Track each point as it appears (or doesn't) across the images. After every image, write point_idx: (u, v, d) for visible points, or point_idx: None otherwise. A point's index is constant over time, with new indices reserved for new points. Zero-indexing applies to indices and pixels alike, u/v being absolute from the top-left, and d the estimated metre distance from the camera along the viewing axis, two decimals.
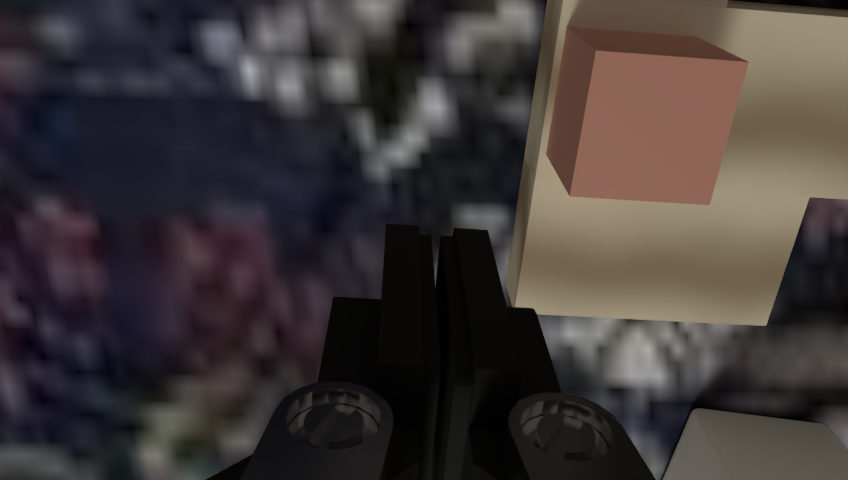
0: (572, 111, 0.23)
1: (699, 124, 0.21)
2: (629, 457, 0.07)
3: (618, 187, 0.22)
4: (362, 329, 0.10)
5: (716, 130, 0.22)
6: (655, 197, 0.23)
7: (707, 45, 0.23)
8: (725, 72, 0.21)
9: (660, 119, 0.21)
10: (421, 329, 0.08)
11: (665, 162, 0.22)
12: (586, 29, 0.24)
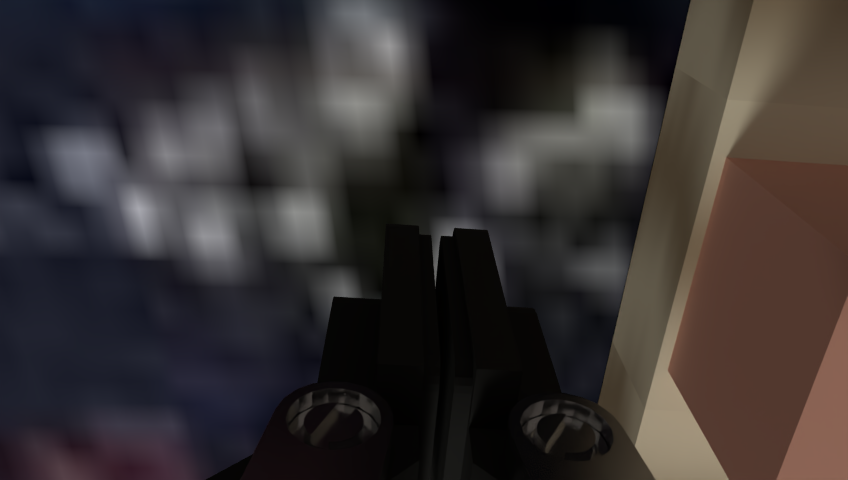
0: (758, 347, 0.11)
1: None
2: (629, 457, 0.07)
3: None
4: (363, 329, 0.10)
5: None
6: None
7: None
8: None
9: None
10: (421, 329, 0.08)
11: None
12: (768, 165, 0.12)
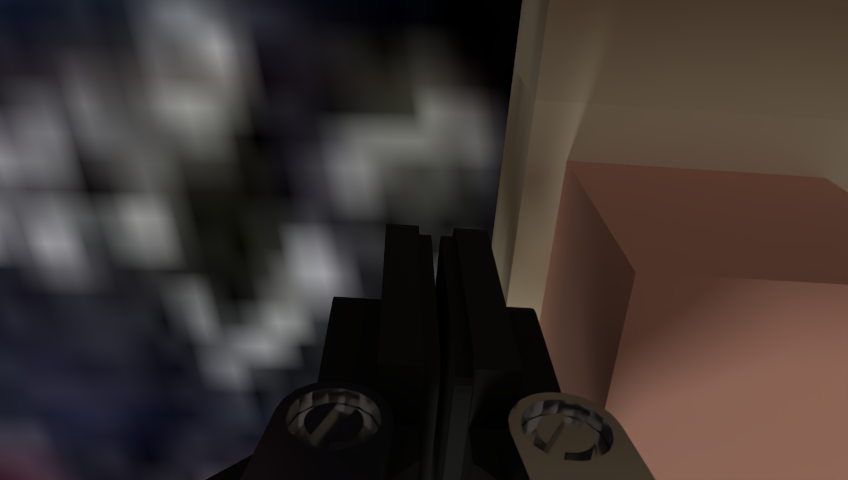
0: (578, 358, 0.11)
1: None
2: (629, 457, 0.07)
3: None
4: (362, 329, 0.10)
5: None
6: None
7: None
8: None
9: (780, 409, 0.09)
10: (421, 329, 0.08)
11: None
12: (607, 168, 0.12)
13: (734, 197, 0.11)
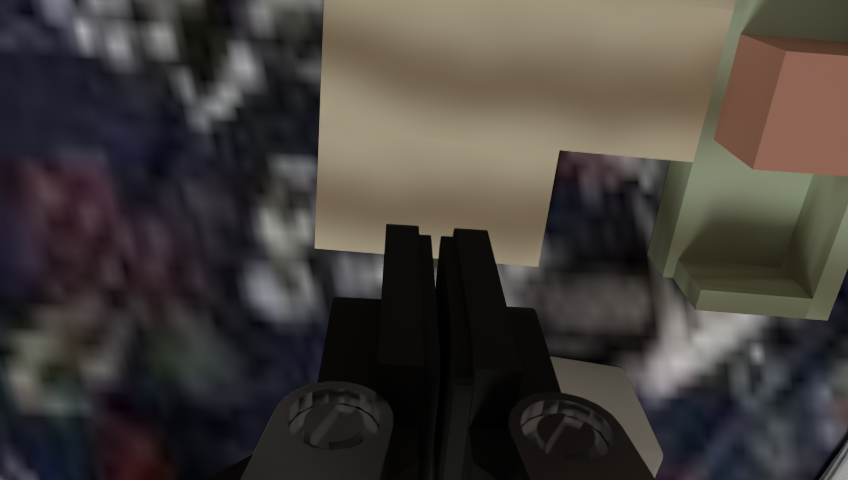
0: (753, 101, 0.28)
1: None
2: (629, 457, 0.07)
3: (793, 162, 0.28)
4: (363, 329, 0.10)
5: None
6: (822, 170, 0.28)
7: None
8: None
9: (832, 106, 0.27)
10: (421, 329, 0.08)
11: (833, 142, 0.27)
12: (757, 36, 0.29)
13: (811, 43, 0.28)
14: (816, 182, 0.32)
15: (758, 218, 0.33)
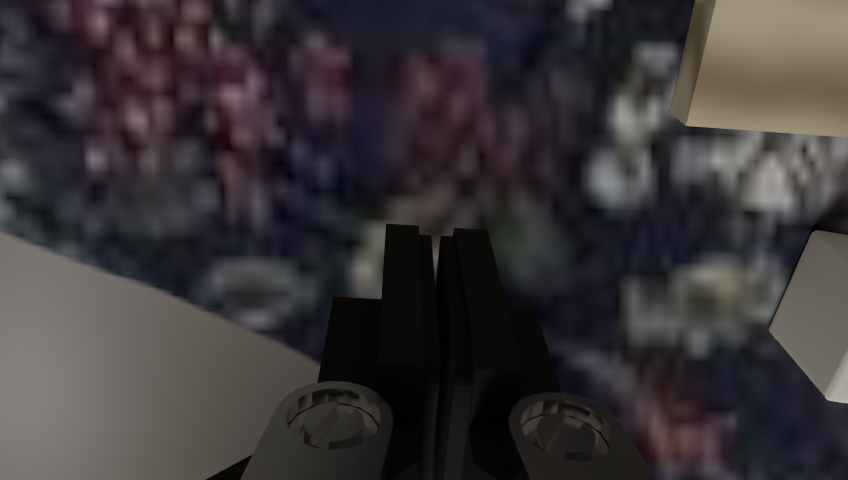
0: None
1: None
2: (629, 457, 0.07)
3: None
4: (363, 329, 0.10)
5: None
6: None
7: None
8: None
9: None
10: (421, 329, 0.08)
11: None
12: None
13: None
14: None
15: None
